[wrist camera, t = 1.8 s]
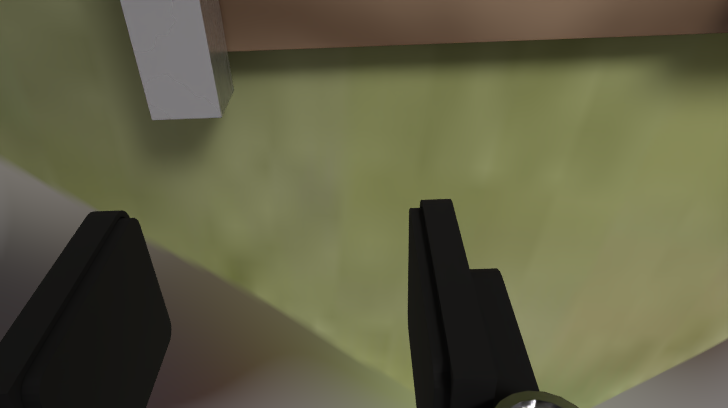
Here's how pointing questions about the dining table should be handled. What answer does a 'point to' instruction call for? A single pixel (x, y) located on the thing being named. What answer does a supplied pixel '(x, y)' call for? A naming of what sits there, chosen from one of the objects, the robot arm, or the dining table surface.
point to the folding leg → (180, 56)
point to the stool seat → (456, 21)
